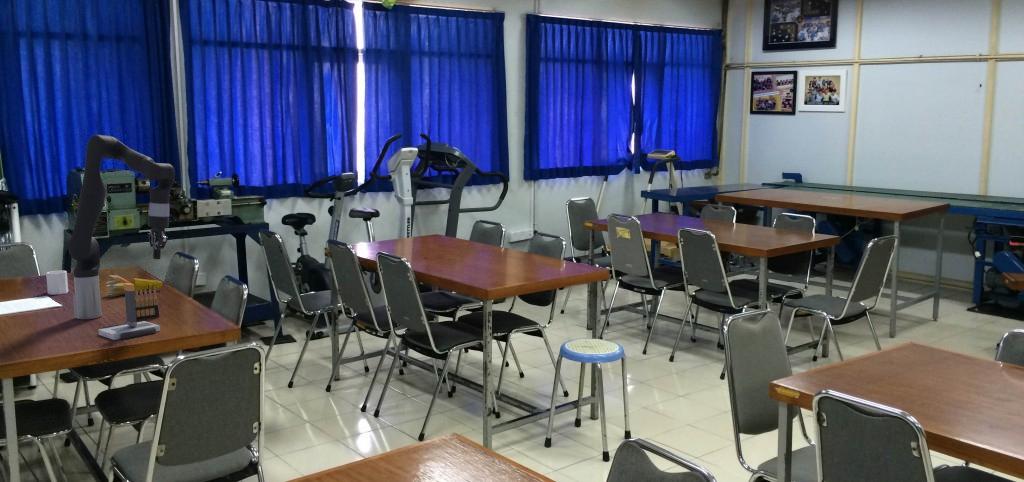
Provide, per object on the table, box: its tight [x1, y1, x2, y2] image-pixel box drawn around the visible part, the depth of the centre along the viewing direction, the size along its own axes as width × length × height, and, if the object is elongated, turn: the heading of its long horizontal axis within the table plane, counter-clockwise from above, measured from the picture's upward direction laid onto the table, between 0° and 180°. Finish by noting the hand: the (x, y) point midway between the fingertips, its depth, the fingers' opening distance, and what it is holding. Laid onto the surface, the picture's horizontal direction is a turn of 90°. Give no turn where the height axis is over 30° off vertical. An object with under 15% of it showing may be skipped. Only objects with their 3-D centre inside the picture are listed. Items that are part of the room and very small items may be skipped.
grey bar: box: [101, 322, 127, 329], centre depth 343 cm, size 13×2×2 cm, turn 139°
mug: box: [45, 269, 69, 296], centre depth 416 cm, size 12×9×10 cm
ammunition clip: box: [135, 288, 160, 321], centre depth 361 cm, size 11×2×12 cm, turn 128°
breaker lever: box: [124, 283, 138, 327], centre depth 338 cm, size 2×4×16 cm, turn 49°
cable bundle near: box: [120, 327, 157, 340], centre depth 333 cm, size 13×2×2 cm, turn 139°
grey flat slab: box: [98, 320, 161, 341], centre depth 338 cm, size 18×12×2 cm, turn 139°
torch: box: [105, 274, 163, 297], centre depth 412 cm, size 8×8×25 cm
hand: (156, 258), depth 347 cm, fingers closed
